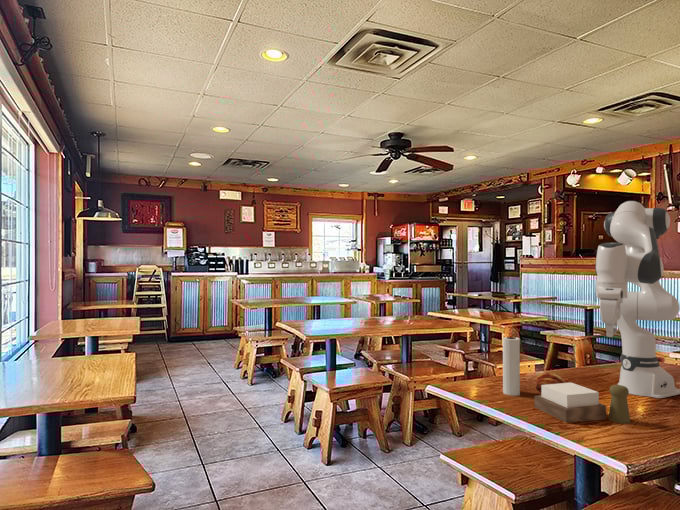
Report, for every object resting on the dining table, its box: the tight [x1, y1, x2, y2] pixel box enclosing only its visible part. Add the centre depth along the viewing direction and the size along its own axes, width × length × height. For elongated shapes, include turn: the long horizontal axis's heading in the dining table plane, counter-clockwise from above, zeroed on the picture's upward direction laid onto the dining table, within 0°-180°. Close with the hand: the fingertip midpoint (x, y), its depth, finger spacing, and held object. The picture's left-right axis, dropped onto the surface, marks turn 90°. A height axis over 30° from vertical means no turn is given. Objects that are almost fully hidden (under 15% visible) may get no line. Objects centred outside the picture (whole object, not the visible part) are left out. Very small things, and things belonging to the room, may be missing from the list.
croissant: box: [535, 372, 566, 393], centre depth 178 cm, size 21×10×8 cm
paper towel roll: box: [502, 336, 521, 397], centre depth 174 cm, size 7×6×21 cm
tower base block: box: [533, 394, 607, 423], centre depth 152 cm, size 15×15×5 cm
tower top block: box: [540, 382, 600, 408], centre depth 152 cm, size 12×12×4 cm
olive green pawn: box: [607, 384, 631, 425], centre depth 146 cm, size 6×6×11 cm
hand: (611, 335), depth 149 cm, fingers open, 8 cm apart
